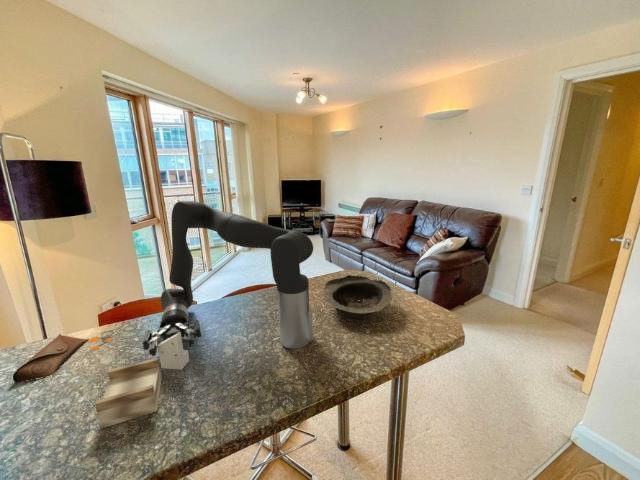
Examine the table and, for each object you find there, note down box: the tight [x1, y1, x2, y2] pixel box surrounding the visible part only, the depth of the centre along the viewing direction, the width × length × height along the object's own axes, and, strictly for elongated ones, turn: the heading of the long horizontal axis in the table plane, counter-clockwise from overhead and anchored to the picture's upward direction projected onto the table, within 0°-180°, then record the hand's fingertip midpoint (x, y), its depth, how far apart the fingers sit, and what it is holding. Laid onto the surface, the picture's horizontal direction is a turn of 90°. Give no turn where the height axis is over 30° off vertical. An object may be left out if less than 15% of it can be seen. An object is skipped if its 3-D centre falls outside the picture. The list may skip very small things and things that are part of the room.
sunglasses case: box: [12, 333, 90, 383], centre depth 79 cm, size 18×7×7 cm
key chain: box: [83, 329, 115, 357], centre depth 87 cm, size 13×7×1 cm, turn 29°
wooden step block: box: [94, 357, 162, 429], centre depth 63 cm, size 10×11×6 cm
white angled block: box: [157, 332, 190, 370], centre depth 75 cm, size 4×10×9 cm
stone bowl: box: [322, 274, 393, 320], centre depth 102 cm, size 25×25×9 cm
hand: (172, 348), depth 73 cm, fingers open, 8 cm apart
